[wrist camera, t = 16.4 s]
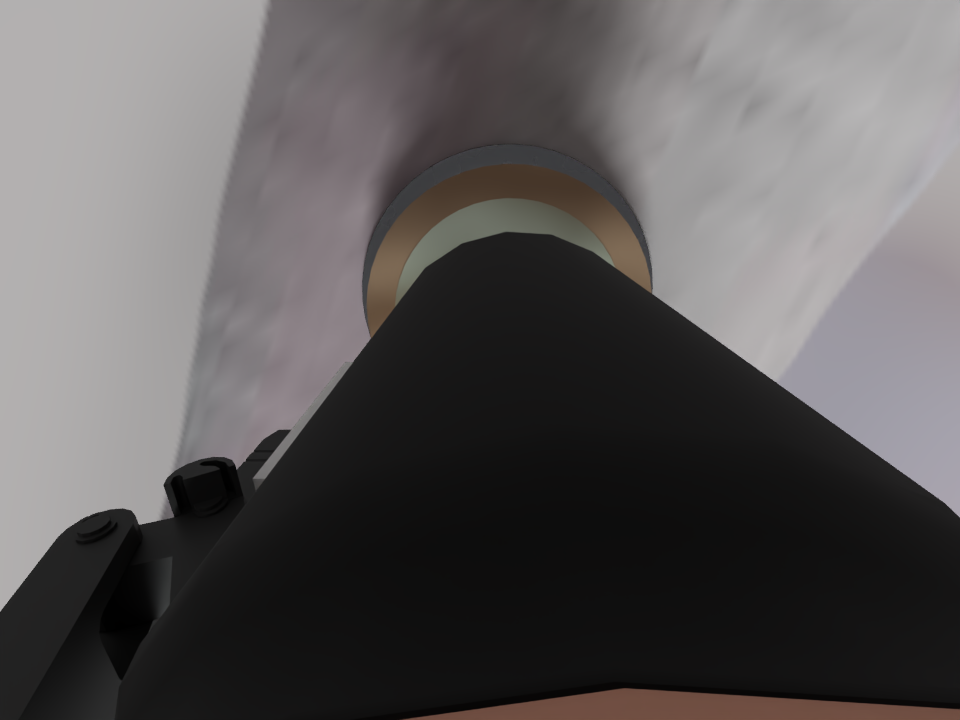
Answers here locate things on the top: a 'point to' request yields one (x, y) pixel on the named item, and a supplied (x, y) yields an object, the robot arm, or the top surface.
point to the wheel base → (488, 158)
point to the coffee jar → (563, 531)
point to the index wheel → (497, 226)
